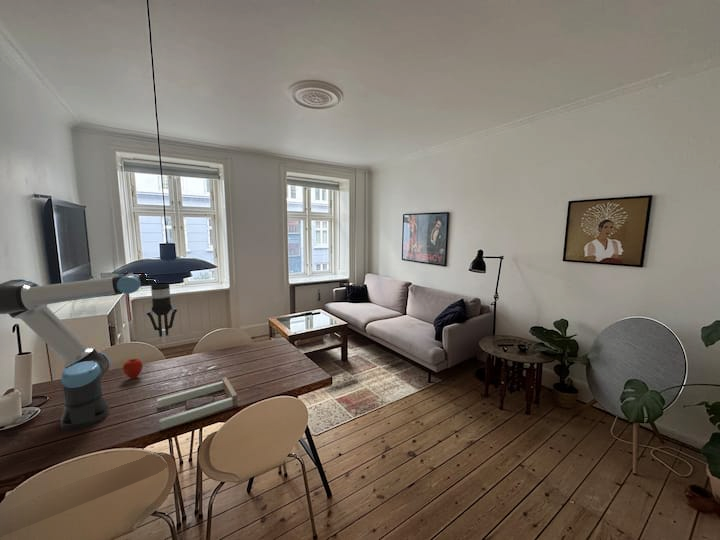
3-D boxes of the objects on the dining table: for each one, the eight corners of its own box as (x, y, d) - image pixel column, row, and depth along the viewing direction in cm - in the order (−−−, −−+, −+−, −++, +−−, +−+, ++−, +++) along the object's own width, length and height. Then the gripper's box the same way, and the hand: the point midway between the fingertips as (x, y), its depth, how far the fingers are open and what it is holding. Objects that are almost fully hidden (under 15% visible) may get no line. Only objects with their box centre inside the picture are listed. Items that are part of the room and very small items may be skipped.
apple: (119, 380, 155) (118, 361, 154) (136, 373, 163) (134, 355, 162) (131, 383, 153) (129, 363, 151) (147, 375, 161) (145, 357, 159)
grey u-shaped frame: (160, 429, 118) (159, 418, 117) (157, 406, 134) (156, 396, 133) (237, 404, 136) (236, 394, 136) (226, 386, 152) (226, 377, 151)
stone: (213, 400, 140) (212, 391, 139) (215, 410, 132) (215, 400, 132) (184, 407, 133) (184, 398, 132) (185, 418, 126) (185, 409, 125)
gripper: (145, 300, 137) (148, 347, 140) (177, 296, 145) (180, 341, 148) (144, 297, 143) (148, 342, 146) (175, 294, 151) (178, 337, 154)
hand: (164, 342), depth 147 cm, fingers closed
